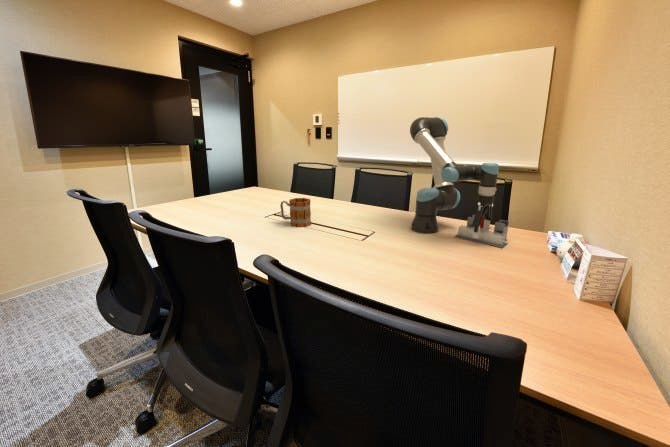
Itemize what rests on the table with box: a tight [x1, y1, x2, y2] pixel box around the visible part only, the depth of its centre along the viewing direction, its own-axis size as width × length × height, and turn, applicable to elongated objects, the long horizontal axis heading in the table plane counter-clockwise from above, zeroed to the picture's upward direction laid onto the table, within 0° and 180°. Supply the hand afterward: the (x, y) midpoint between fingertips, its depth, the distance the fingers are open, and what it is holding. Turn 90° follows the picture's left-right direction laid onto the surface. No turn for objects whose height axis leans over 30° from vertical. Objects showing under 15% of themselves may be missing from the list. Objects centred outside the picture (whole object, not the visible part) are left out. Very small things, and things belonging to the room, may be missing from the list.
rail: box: [457, 224, 506, 246], centre depth 161 cm, size 22×4×5 cm, turn 45°
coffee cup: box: [477, 202, 494, 229], centre depth 182 cm, size 8×8×15 cm
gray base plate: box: [454, 233, 508, 249], centre depth 162 cm, size 24×8×1 cm, turn 45°
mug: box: [280, 197, 312, 228], centre depth 189 cm, size 20×14×15 cm
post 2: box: [493, 219, 510, 241], centre depth 161 cm, size 4×7×10 cm, turn 135°
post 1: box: [466, 214, 475, 227], centre depth 170 cm, size 4×7×10 cm, turn 135°
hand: (480, 235), depth 161 cm, fingers open, 13 cm apart
